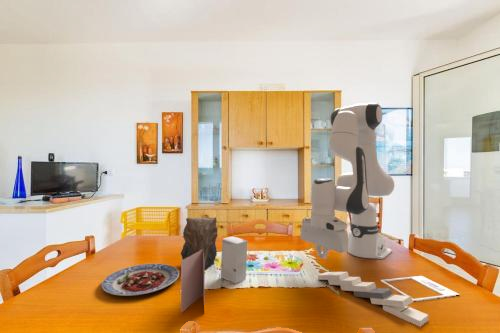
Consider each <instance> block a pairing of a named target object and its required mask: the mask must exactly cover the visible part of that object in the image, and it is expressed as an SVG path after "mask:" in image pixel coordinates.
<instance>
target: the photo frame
mask: <svg viewBox="0 0 500 333" xmlns="http://www.w3.org/2000/svg"><path fill="white" fill-rule="evenodd" d="M405 280H412V281H414V282H416V283H418V284H420V285H422V286H424V287H426V288H428V289H429V290H431V291H433V292H435V293H438V294H439V295H435V296H427V297H417V298H413V297H411V298H412V301H413V302H412V303H415V302H414V301H416V302H423V300H424V301H431V300H438V299H437V298H440V299H445V298H444V297H447V298H451V297H450V296H455V297H457V296H456V295H460V293H458V292H456V291H454V290H452V289H450V288H448V287H446V286H444V285H442V284H439V283H438V282H435V281H433V280H431V279H429V278H427V277H425V276H423V275H418V276H417V275H416V276H407V277H397V278H388V279H380V282H381V283H383V284H384V285H386V286H387V287H389V289H391V290H394V291H395V292H397V293H399V295H404V296H409V295H408V294H407V293H405V292H403V291H401V290H399V289H398V288H396V287H394V286H393V285H391V284H390V283H388V282H397V281H405Z"/></svg>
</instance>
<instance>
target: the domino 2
mask: <svg viewBox="0 0 500 333" xmlns="http://www.w3.org/2000/svg"><path fill="white" fill-rule="evenodd" d="M327 282H328V285H329V286H340V285H346V286H353V285H356V284H358V283H360V282H362V279H361V276H349V277H346V278H344V279H341V280H327Z"/></svg>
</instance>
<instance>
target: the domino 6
mask: <svg viewBox="0 0 500 333" xmlns="http://www.w3.org/2000/svg"><path fill="white" fill-rule="evenodd" d="M382 310H383V311H385V312H387V313H389V314H392V315H394V316H396V317H397V318H400V319H402V320H404V321H406V322H408V323H410V322H411V323H410V324H412V323H413V325H415V324H416V325H415V326H417V325H418V326H417V327H419V326H420V327H419V328H421V327H422V326H424V325H425V324H426V323H428V322H429V314H427V313H425V312H422V311H420V310H417V309H415V308H412V307H411V306H408V305H407V306H406V307H397V306H388V305H382ZM424 323H425V324H424Z"/></svg>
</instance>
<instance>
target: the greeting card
mask: <svg viewBox="0 0 500 333" xmlns="http://www.w3.org/2000/svg"><path fill="white" fill-rule="evenodd" d="M180 268H181V269H180V313H183V312H184V311H186V309H188V308H189V307H190V306H191V305H193V303H195V302H196V301H197V300H199V298H201V297H202V303H203V304H205V300H206V299H205V272H206V270H205V262H204V253H203V249H202V250H200V251H199V252H197V253H195V254H193V255H191V256H189V257H188V258H186V259H184V260H183V259H182V260H181V261H180Z"/></svg>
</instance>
